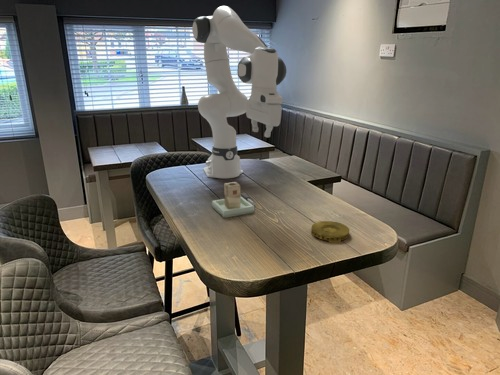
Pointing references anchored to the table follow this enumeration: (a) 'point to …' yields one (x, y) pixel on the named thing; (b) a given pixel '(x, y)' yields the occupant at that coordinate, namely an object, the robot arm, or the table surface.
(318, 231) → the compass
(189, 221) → the table surface
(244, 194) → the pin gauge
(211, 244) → the table surface
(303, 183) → the table surface
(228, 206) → the bored block
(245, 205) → the tray
